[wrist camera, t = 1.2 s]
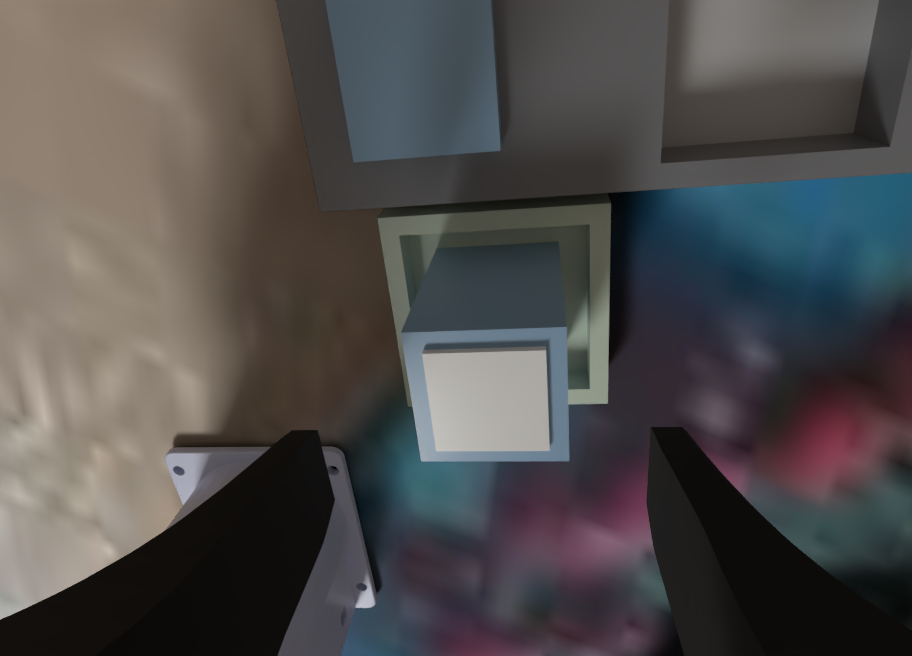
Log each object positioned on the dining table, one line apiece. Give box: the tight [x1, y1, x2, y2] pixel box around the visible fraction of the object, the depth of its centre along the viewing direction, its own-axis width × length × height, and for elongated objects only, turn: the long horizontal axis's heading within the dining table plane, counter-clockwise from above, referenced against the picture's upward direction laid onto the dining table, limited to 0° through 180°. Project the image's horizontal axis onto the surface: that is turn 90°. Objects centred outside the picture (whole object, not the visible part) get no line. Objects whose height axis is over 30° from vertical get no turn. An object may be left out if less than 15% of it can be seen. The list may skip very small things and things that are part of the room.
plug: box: [401, 242, 569, 461], centre depth 18 cm, size 4×4×6 cm
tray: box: [377, 193, 611, 407], centre depth 20 cm, size 7×7×2 cm
